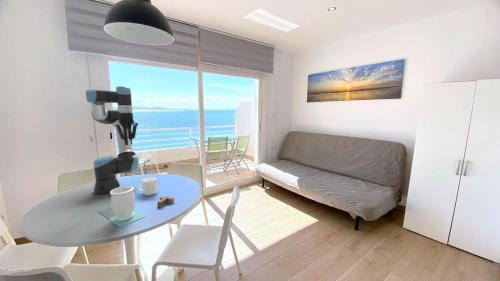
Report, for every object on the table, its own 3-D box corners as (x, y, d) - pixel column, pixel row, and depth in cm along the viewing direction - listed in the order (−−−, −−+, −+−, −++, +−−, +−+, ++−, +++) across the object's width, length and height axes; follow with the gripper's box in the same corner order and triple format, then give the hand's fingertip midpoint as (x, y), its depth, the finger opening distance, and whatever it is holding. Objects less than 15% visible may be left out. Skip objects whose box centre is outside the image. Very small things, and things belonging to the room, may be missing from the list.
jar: (120, 212, 110) (117, 185, 108) (140, 211, 111) (137, 185, 109) (108, 222, 100) (104, 194, 98) (129, 222, 100) (126, 193, 98)
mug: (160, 190, 141) (159, 177, 139) (153, 195, 132) (152, 182, 131) (144, 189, 142) (142, 176, 140) (136, 195, 133) (134, 181, 131)
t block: (153, 206, 117) (153, 201, 117) (162, 200, 125) (162, 195, 124) (165, 208, 115) (165, 203, 115) (174, 201, 123) (173, 197, 123)
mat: (98, 212, 111) (98, 211, 111) (122, 203, 120) (122, 203, 120) (120, 227, 96) (120, 227, 96) (145, 216, 106) (145, 216, 106)
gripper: (116, 112, 117) (120, 152, 120) (139, 112, 127) (142, 148, 131) (111, 112, 121) (115, 150, 125) (133, 112, 132) (136, 147, 135)
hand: (129, 149), depth 128 cm, fingers closed
